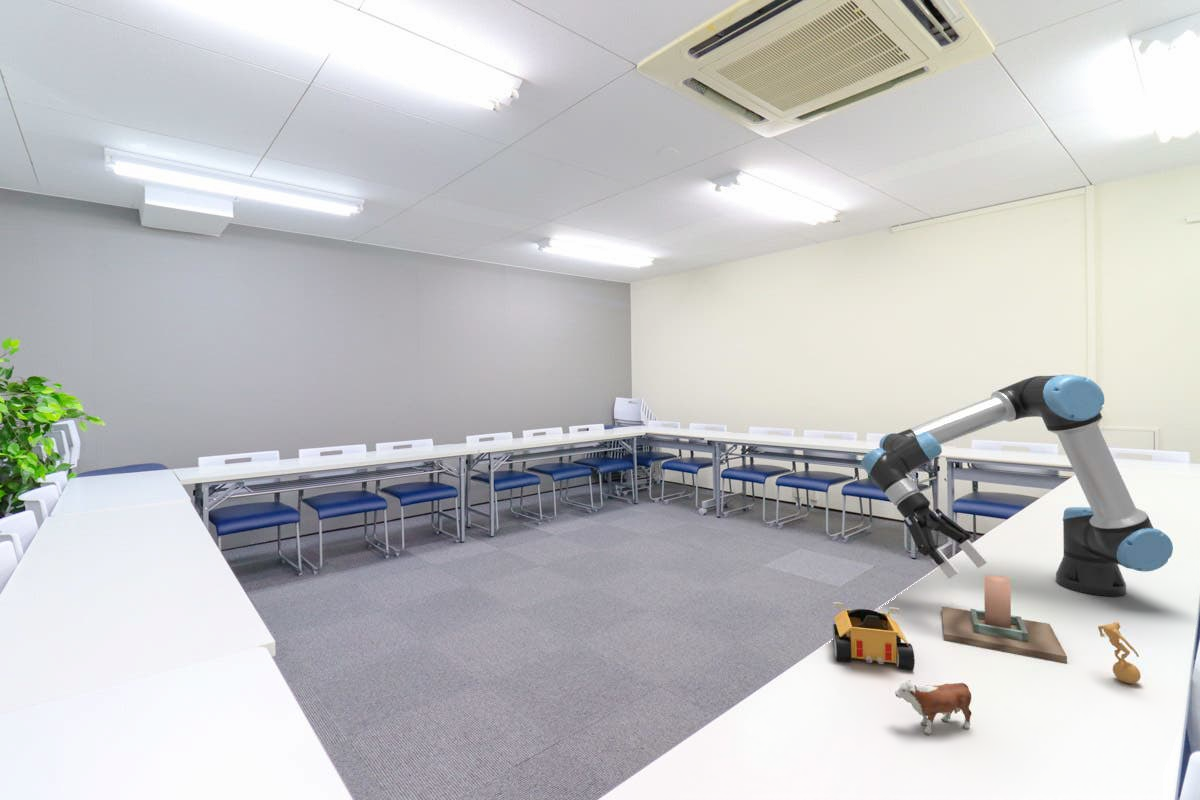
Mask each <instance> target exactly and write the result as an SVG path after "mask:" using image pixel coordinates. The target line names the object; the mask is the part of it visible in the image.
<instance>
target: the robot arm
mask: <svg viewBox="0 0 1200 800" xmlns="http://www.w3.org/2000/svg"><path fill="white" fill-rule="evenodd" d="M1104 404H1105V394H1104V392H1103V389H1102V388H1101V387H1100V385H1098V384H1097V383H1096V382H1095V381H1093V380H1092V379H1091V378H1088V377H1085V376H1081V375H1076V374H1060V375H1037V376H1032V377H1029V378H1025V379H1022V380H1020V381H1018V382H1015V383H1012V384H1010V385H1008V386H1006V387H1003V388H1000V389H998V390H996V391H993V392H992V393H991V396H990V397H987V398H984V399H982V400H980V401H977V402H975V403H972V404H969V405H967V406H964V407H962V408H959V409H956V410H954V411H951V412H950V413H947V414H943V415H942V416H939V417H937V418H934V419H931V420H928V421H926V422H923V423H921V424H919V425H915V426H913V427H910V428H908V429H905V430H903V431H900V432H898V433H893V432H892V433H888V434H885V435H884V436H883V437H881V439H880V441H879V447H877V448H875V449H872V450H871V451H869V452H868V453H866V454H864V455H863V457H862V458H861V462H860V465H861V466H862V468H863V470H864V471H865V472H866V473H867V474H868V476H869V477H870V478H871V479H872V480H873V482H874V483H875V484H876V485H877V486H878V488H879V489H880V490H881V491H882V492H883V493H884V495H885V496H886V497H887V498H888V500H889V501H891V503H892V504H893V505H894V506H895V507H896V509H897V511H898V512H899V513H900V515H902V516H903V518H904V519H903V522H904V524H905V526H906V527H907V528H908V531H909V533H910V535H911V538H912V539H913V542H914V545H915V547H916V548H917V551H918V552H919V553H920V554H922V555H923V556H924V557H927V556H928V555H929V556H930V558H931V559H932V560H933V562H935V564H936V565H937V566H938V567H939V568H940V570H941V571H942V572H943V573H944V574H945V576H946V577H947V578H948V579H951V578H953V577H954V576H956V575H957V574H959V573H960V572H959V570H958V569H957V568H956V567H955V565H953V563H952V562H951V561H950V560H949V558H947V556H946V555H945V554H944V553H943V551H942V550H941V549H940V548H936V545H935V541H934V537H933V533H932V531H934V532H937V531H938V532H940V533H941V534H943V535H944V536H946V537H948V538H950V539H951V540H953V541H955V542H956V543H958V544H959V545H958V546H959V548H960V549H961V550H962V552H963V553H965V555H966V556H968V558H969V559H970V560H971V562H972V563H973V564H974V565H975V566H976V567H977V568H978V569H979V568H982V567H983V566H985V565H986V564H988V563H989V561H988V560H987V558H986V557H984V556H983V554H982V553H980V551H979V550H978V549H977V548H976V547H975V545H974V544H973V543H972V542H971V541H970V539H971V538H972V535H971V533H970V532H968V531H967V530H965V528H963V527H962V526H960V525H959V524H958V523H956V522H955V521H954V520H952V519H951V518H950V517H948V516H947V515H946V514H945V513H943V511H942V510H940V508H936V509H934V510H931V508H930V505H931V501H930V500H929V499H928V498H927V497H926V495H925V494H923V493H922V492H920V489H919V488H918V487H917V485H916V484H915V483H914V482H913V481H912V480H911V479H910V478H909V477H908V475H907V474H909V473H911V472H912V471H915V470H916V469H918V468H919V467H921V466H924V465H925V464H927V463H929V462H930V461H932V462H933V460H935V458H938V457H939V456H940V455H941V454H942V452H943V450H942V446H941V445H943V444H945V443H948V442H951V441H954V440H956V439H958V438H961V437H965V436H966V435H969V434H973V433H975V432H977V431H980V430H982V429H985V428H987V427H991V426H993V425H996V424H998V423H1002V422H1004V421H1006V422H1013V421H1017V420H1019V419H1023V418H1031V417H1033V418H1036V417H1038V418H1042V421H1043V423H1044V425H1045V428H1046V430H1047V431H1048V432H1050V433H1053V434H1055V435H1056V436H1057V437H1058V439H1059V441H1060V443H1061V444H1060V445H1062V448H1063V450H1064V452H1065V454H1066V456H1067V459H1068V461H1069V463H1070V466H1071V468H1072V470H1073V471H1074V474H1075V477H1076V479H1077V481H1078V483H1079V485H1080V487H1081V489H1082V492H1083V494H1084V496H1085V498H1086V500H1087V503H1088V505H1089V506H1088V507H1086V506H1085V507H1084V506H1073V507H1072V506H1071V507H1067V508H1065V509H1064V511H1063V517H1062V521H1063V524H1062V525H1063V528H1062V529H1063V531H1062V532H1063V539H1062V540H1063V556H1062V559H1061V561H1060V564H1059V566H1058V568H1057V570H1056V572H1055V582H1056V583H1057V584H1058V585H1060V586H1062V587H1065V588H1067V589H1069V590H1073V591H1076V592H1081V593H1083V594H1084V593H1085V594H1090V595H1096V596H1101V597H1104V596H1105V597H1122V596H1124V595H1126V594H1127V583H1126V581H1125V578H1124V577H1123V574H1122V572H1121V569H1120V567H1119V566H1122V567H1124V568H1126V569H1131V570H1134V571H1138V572H1143V573H1144V572H1154V571H1155V570H1159V569H1161V568H1162V567H1164V566H1165V565H1167V563H1168V560H1169V559H1170V558H1171V557H1172V555H1173V551H1174V550H1173V549H1174V546H1173V545H1174V544H1173V542H1172V540H1171V538H1170V537H1169V535H1167V534H1166V533H1165V532H1163V531H1162V530H1160V529H1158V528H1155V527H1154V526H1153V524H1152V522H1151V520H1150V518H1149V515H1148V514H1147V512H1146V511H1143V510H1142V509H1139V508H1137V507H1136V505H1135V503H1134V501H1133V499H1132V497H1131V495H1130V493H1129V489H1128V488H1127V486H1126V484H1125V482H1124V480H1123V479H1124V478H1123V477H1122V474H1121V473H1120V470H1119V468H1118V466H1117V464H1116V461H1115V460H1114V457H1113V455H1112V453H1111V452H1110V449H1109V446H1108V445H1107V442H1106V440H1105V438H1104V435H1103V433H1102V432H1101V429H1100V427H1099V423H1100V422H1101V420H1103V416H1102V413H1101V411H1102V410H1103V405H1104Z"/></svg>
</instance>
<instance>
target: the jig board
mask: <svg viewBox="0 0 1200 800" xmlns="http://www.w3.org/2000/svg"><path fill="white" fill-rule="evenodd" d="M941 617H942V628H943V640H944V641H946V642H947V641H948V642H951V643H957V644H963V645H967V646H973V647H979V648H983V649H989V650H995V651H1000V652H1005V653H1010V654H1014V655H1015V654H1017V655H1021V656H1025V657H1031V658H1035V659H1041V660H1047V661H1054V662H1058V663H1062V664H1063V663H1064V664H1068V655H1067V653H1066V651H1065V650H1064V648H1063V646H1062V645H1061V644H1062V643H1061V642H1060V641H1059V638H1058V636H1057V634H1056V633H1055V631H1054V630H1053V627H1052V626H1051V623H1049V622H1048V623H1046V622H1041V621H1036V620H1030V619H1028V620H1027V619H1023V618H1022V616H1018V615H1012V614H1011V629H1009V628H1003V627H997V626H991V625H985V610H981V609H976V608H975V609H974V608H970V610H968V609H962V608H954V607H949V606H941Z"/></svg>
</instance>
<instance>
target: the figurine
mask: <svg viewBox="0 0 1200 800" xmlns="http://www.w3.org/2000/svg"><path fill="white" fill-rule="evenodd" d="M1120 628H1121V626H1120V623H1119V622H1118V621H1114V622H1113V623H1110V624H1104V625H1099V626H1097V629H1098V631H1099V635H1100V637H1101V638H1104V637H1105V636H1107V637H1108V639H1109V640H1108V641H1109V643H1111V645H1112V646H1113V647H1114V648H1115V650H1114V656H1115V657H1116V659H1117V660H1118V661H1117V662H1115V663H1114V664H1113V666H1112V672H1113V675H1114V676H1115V677H1116V678H1117V679H1118V680H1119V681H1121V682H1123V683H1126V684H1136V683H1138V682H1139V681H1140V680H1141V677H1142V676H1141V671H1140V670H1139V668H1138V667H1137V666H1136V665H1134V664H1133V663H1131V662H1129V661H1127V660H1126V658H1128V656H1129V655H1130V654H1131V652H1130V650H1131V651H1132V652H1134V654H1135V655H1136V657H1137V658H1140V655H1139V653H1138V651H1136V650H1135V648H1134V647H1133V645H1131V644H1130V642H1128V641H1127V640H1126V638H1125V637H1124V636H1123V635H1122V633H1121V632H1120V630H1119V629H1120ZM1103 632H1104V633H1103ZM1120 640H1121V641H1123V642H1124V643H1125V644H1126V646H1127V647H1128V648H1129V649H1130V650H1129V649H1128V648H1127V647H1126V646H1125V645H1124V644H1123V643H1122V642H1120ZM1121 651H1122V652H1123V653H1122V654H1121V655H1120V656H1121V657H1120V656H1119V654H1120V652H1121Z"/></svg>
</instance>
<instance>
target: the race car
mask: <svg viewBox="0 0 1200 800" xmlns="http://www.w3.org/2000/svg"><path fill="white" fill-rule="evenodd" d="M832 604H833V608H835V609H843V610H842V611H840V612H839V613H838V614H836V615H835V616H833V618H834V622H835V623H833V624H832V636H833V643H834V644H833V647H834V648H833V649H834V656H835V661H841V662H846V663H847V662H849V663H850V662H852V659H859V660H866V662H867V663H872V662H873V661H876V662H877V663H878V664H880V665H883V664H884V663H892V664H895V665H896V667H897V668H898V669H903V670H904V669H905V670H914V669H915V664H916V662H915V661H916V659H915V653H914V647H913V644H912V643H909V642H908V641H907V639H906V636H905V635H904V633H903V631H902V630H901V627H900V626H899V624H898V622H896V621H895V620H894V618H892V616H890V614H895V615H899V614H901V609H900V608H899V607H888V612H887V613H886V612H878V611H877V610H876V611H875V610H873V609H868V608H867V609H865V608H855V609H849V608H847V609H846V608H845V604H844V603H843V602H838V601H837V602H835V601H833V603H832ZM902 641H903V642H902Z"/></svg>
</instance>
